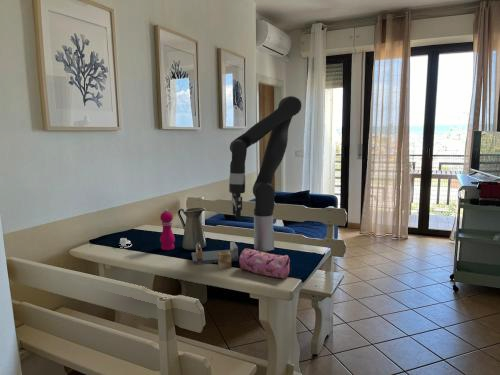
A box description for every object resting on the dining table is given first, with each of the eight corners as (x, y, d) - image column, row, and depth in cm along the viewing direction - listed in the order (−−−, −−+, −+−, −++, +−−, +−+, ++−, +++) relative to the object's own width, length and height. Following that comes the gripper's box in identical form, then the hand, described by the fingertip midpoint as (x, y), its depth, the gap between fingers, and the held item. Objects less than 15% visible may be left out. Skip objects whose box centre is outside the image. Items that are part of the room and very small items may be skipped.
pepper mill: (171, 250, 179) (170, 210, 176) (157, 250, 180) (156, 210, 177) (177, 246, 186) (176, 207, 183) (164, 245, 187) (162, 207, 184)
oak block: (229, 263, 161) (229, 250, 160) (231, 267, 156) (231, 254, 155) (218, 264, 160) (217, 251, 159) (219, 268, 155) (219, 255, 154)
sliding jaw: (200, 251, 171) (200, 241, 171) (202, 259, 162) (202, 248, 161) (196, 252, 171) (195, 241, 170) (197, 259, 161) (197, 248, 160)
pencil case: (293, 274, 149) (293, 253, 148) (283, 282, 141) (283, 259, 140) (247, 265, 159) (247, 245, 158) (236, 272, 151) (235, 251, 150)
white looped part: (126, 243, 194) (126, 235, 193) (136, 245, 189) (136, 237, 189) (112, 247, 187) (111, 239, 186) (121, 250, 182) (121, 242, 182)
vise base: (234, 252, 176) (233, 241, 175) (238, 260, 164) (238, 248, 163) (191, 255, 172) (191, 244, 171) (193, 264, 160) (192, 252, 159)
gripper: (248, 184, 167) (247, 219, 169) (242, 180, 181) (241, 213, 183) (231, 184, 165) (231, 219, 168) (227, 180, 179) (226, 213, 182)
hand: (236, 216), depth 175 cm, fingers open, 8 cm apart
